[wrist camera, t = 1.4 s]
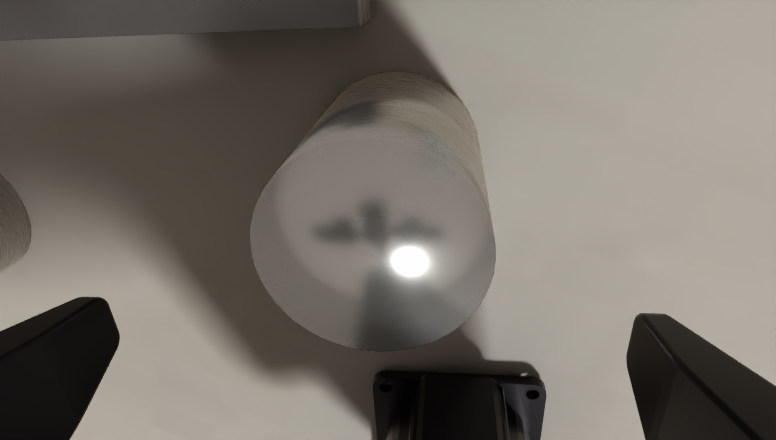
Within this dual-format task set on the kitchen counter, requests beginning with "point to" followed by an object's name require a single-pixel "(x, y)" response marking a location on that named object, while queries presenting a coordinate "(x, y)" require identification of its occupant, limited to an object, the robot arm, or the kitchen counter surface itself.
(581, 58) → the kitchen counter surface
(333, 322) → the cylinder
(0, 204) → the cylinder
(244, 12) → the dial scale
